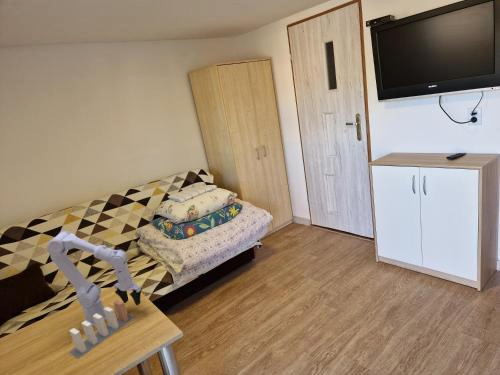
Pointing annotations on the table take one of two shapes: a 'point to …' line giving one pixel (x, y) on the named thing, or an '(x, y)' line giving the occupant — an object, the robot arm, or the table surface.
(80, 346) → the domino
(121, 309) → the domino
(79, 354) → the mat
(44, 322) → the table surface
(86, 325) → the domino
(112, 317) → the domino
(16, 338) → the table surface
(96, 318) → the domino
